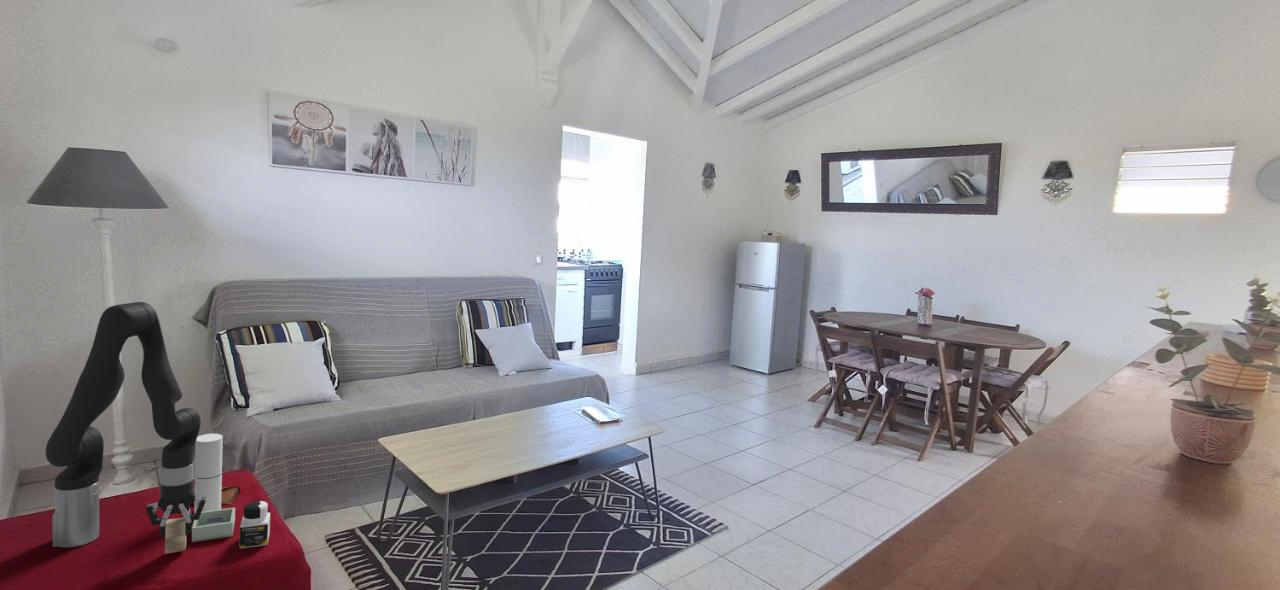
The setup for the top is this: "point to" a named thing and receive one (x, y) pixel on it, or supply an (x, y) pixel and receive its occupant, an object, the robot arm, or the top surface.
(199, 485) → the cylindrical container
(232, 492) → the sunglasses case
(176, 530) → the beige wooden block
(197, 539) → the open box
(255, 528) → the medicine bottle
